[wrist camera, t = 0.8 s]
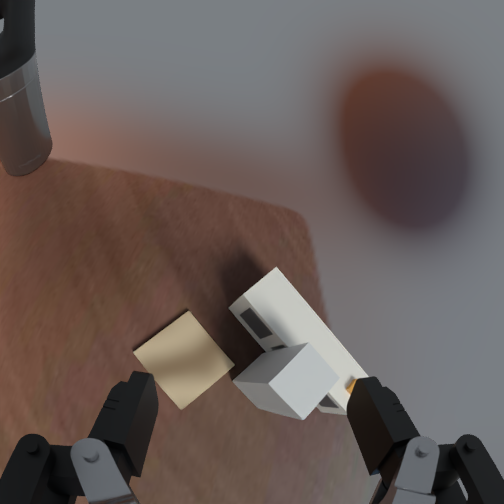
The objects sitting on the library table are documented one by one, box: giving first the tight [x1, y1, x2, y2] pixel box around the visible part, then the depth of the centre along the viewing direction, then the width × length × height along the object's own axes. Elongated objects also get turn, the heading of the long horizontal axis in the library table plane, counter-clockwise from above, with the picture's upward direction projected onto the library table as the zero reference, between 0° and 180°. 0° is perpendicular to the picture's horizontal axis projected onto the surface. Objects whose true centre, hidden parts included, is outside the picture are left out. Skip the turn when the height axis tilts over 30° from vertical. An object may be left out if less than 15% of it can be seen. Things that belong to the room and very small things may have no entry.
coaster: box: [133, 311, 234, 410], centre depth 29 cm, size 8×8×1 cm
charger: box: [232, 342, 340, 420], centre depth 26 cm, size 4×7×11 cm, turn 133°
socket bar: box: [229, 267, 368, 415], centre depth 30 cm, size 18×5×7 cm, turn 43°
